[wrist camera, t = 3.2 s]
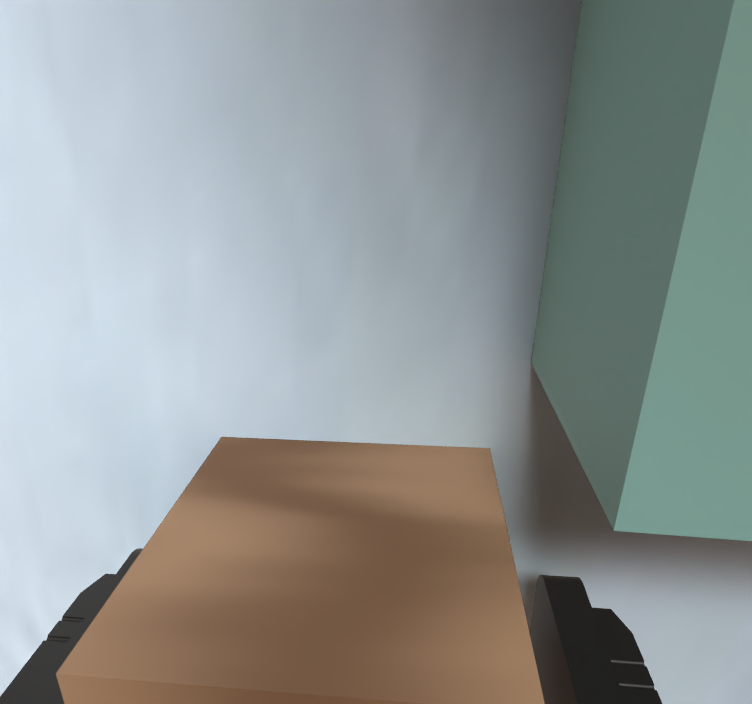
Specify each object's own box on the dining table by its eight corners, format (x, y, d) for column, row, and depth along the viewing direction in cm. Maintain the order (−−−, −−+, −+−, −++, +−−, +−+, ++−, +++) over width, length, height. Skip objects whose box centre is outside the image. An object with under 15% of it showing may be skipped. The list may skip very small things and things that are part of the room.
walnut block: (245, 632, 13) (132, 938, 8) (222, 434, 11) (56, 673, 6) (471, 648, 13) (503, 981, 8) (489, 446, 11) (547, 713, 6)
